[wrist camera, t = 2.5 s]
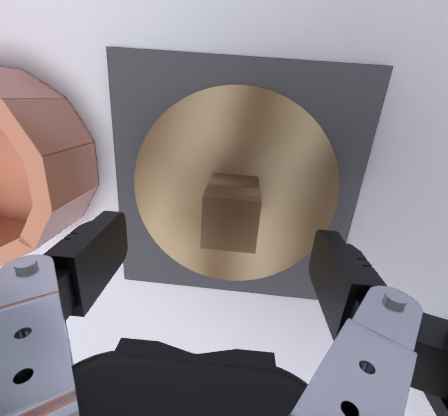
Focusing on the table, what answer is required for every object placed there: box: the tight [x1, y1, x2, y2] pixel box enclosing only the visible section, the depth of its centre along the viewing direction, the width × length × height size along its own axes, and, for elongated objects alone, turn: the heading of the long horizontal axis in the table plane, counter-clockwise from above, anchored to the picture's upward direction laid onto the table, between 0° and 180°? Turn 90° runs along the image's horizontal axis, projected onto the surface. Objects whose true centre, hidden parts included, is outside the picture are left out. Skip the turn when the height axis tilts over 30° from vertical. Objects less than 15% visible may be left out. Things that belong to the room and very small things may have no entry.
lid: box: [134, 85, 339, 281], centre depth 16 cm, size 13×13×5 cm
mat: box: [106, 47, 393, 300], centre depth 18 cm, size 16×16×1 cm
